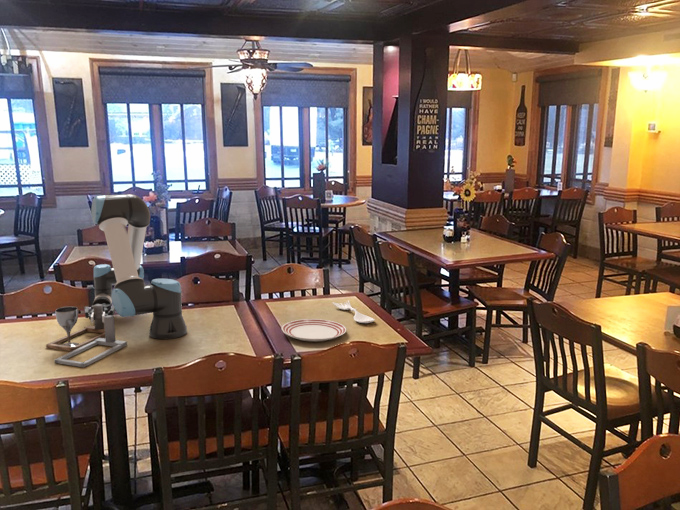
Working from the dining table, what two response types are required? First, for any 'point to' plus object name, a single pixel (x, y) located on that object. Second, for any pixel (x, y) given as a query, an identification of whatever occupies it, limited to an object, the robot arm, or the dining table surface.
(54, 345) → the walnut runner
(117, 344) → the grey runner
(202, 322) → the dining table surface
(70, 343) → the wine glass
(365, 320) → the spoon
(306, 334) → the dinner plate
